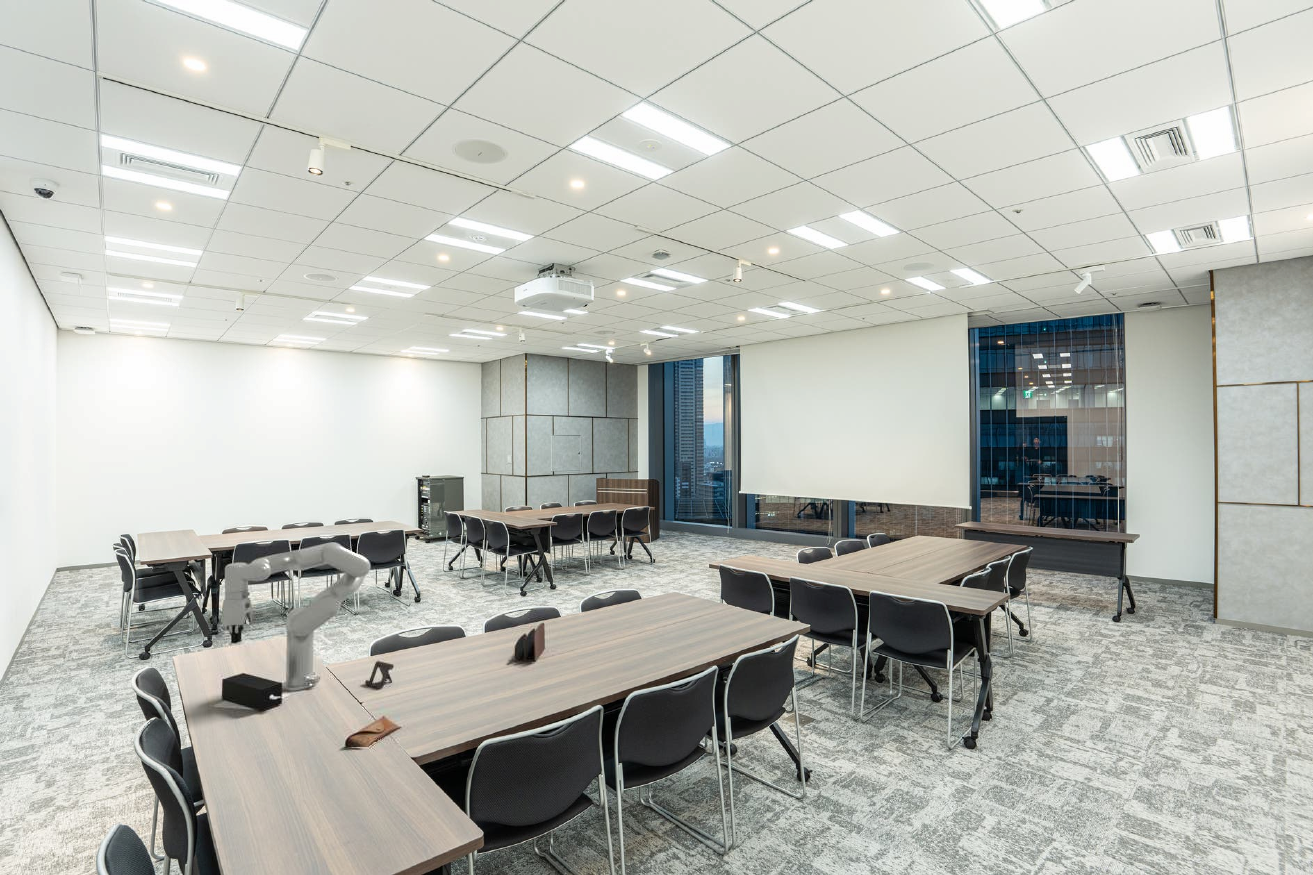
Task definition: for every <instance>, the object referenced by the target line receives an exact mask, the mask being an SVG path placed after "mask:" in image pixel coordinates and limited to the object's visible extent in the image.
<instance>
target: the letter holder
mask: <svg viewBox="0 0 1313 875" xmlns="http://www.w3.org/2000/svg"><path fill="white" fill-rule="evenodd" d="M545 633H546V632H545V623H544V622H541V623H540V624H539V625H538V626H537V627H536V628H532V629H531V630H530V631H529V632H528V633H523V634H522V635H521V636H520V637H519V639H518V640H517V641H516V643H515V645H514V651H513V652H514V654H513V655H514V656H513V657H514V658H513V661H514V662H523V663H524V662H536V663H537V661H536V660H538V659H539V658H540V657H541V655H542V654H543V652H544V651H545V650H546V646H545V644H546V641H545V640H546V638H545ZM544 649H545V650H544ZM539 656H540V657H539Z"/></svg>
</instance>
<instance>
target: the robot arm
mask: <svg viewBox="0 0 1313 875" xmlns="http://www.w3.org/2000/svg"><path fill="white" fill-rule="evenodd" d="M324 565H325V566H326V565H330V566H331V567H333V568H334V569H337V570H338V571H341V572H343V573H344V574H343V575H342V576H341V577H340V578H339V579H338V580H336V581H335V582H334V583H332V584H331V585H329V586H328V587H326V588H325V589H323V590H322V591H320V592H319V593H317V594H316V595H315V596H314V598H313V600H312V603H311V604H310V605H309V606H297V607H295V608H293V609H292V610H290V611H289V613H288V614H287V617H286V622H285V626H286V628H285V629H286V653H285V654H286V657H285V658H286V660H285V662H286V663H285V664H286V665H285V682H282V691H288V692H291V691H293V692H294V691H302V690H305V689H309V688H311V687H314V686H315V685H317V684H318V683H319V682H320V680H321V676H317V675H316V672H314V631H316V630H318V629H319V628H320V627H321V626H323V625H324V624H326V623H327V622H328V621H330V620H331V619H333V618H334V617H335V616H336V615H337V614H338V613H339V611H340V609H341V607H342V603H344V601H346V600H347V599H348V598H350V596H352V595H353V594H354V593H356V592H357V591H358V590H359V589H360V587H361V586H362V584H363V583H364V580H365V579H366V578H365V577H366V576H367V574H369V573H370V571H371V565H372V564H371V562H370V561H369V559H368V558H367V557H365V556H364V555H362V554H359V553H355V552H353V551H351V550H349V549H347V548H345V547H344V546H342V545H341V544H340V543H338V542H334V541H333V542H326V543H321V544H319V545H318V544H317V545H313V546H310V547H309V546H308V547H305V548H302V549H296V550H291V551H287V552H286V551H285V552H281V553H276V554H271V555H267V556H264V557H263V556H262V557H259V558H255V559H254V560H252V561H251V562H250V563H246V562H234V563H229V564H226V566H225V567H224V599H223V603H222V606H221V614H220V615H221V616H220V618H221V624H222V626H223V628H226V629H228V632H229V633H230V644H238V643H240V642H241V643H242V632H243V631H244V630H245V629H247V628H249V627H251V626H250V623H251V622H253V617H254V616H253V606H252V602H251V601H252V600H251V598H250V597H249V596H250V595H251V593H250V592H249V582H260V581H265V580H267V579H268V578H269V577H270V576H271V575H272V574H276V573H279V572H280V573H281V572H285V571H304V570H308V569H309V570H310V569H311V568H317V567H320V566H324Z"/></svg>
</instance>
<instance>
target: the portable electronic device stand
mask: <svg viewBox="0 0 1313 875" xmlns="http://www.w3.org/2000/svg"><path fill="white" fill-rule="evenodd" d="M378 669H379V671H380V673H381V676H382V678H381V680H380V682H379V683H378V682H374V679H375V678H376V677H375V676H376V674H377V671H378ZM393 669H394V664H391V663H390V662H389V663H388V662H385V661H380V660H376V661H375V664H374V665H373V669H372V672H371V676H370V678H369V680H367V679H366V680H365V683H364V684H365V685H366V686H368V687H373V688H376V689H380V690H381V689H383V688H384V685H385V682H388V681H389V683H393V681H392V677H391V675H390V672H389V671H390V670H393Z"/></svg>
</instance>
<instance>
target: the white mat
mask: <svg viewBox="0 0 1313 875" xmlns="http://www.w3.org/2000/svg"><path fill="white" fill-rule="evenodd" d="M290 696H291V693H282V699H283V700H285V699H287V698H289V697H290ZM286 697H287V698H286ZM214 708H225V709H239V710H241V709H242V710H255V709H252V708H249V707H245V706H242V705H239V704H235V703H232V702H228V701H225V700H222V701H221V702H219V703H218V704H215V705H214Z"/></svg>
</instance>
